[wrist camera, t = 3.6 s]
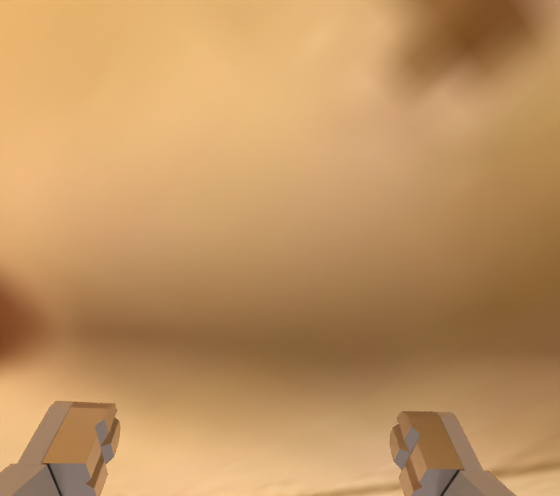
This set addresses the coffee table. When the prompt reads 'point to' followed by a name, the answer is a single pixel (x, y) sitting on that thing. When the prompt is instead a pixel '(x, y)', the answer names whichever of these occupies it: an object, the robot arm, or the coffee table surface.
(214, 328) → the coffee table surface
